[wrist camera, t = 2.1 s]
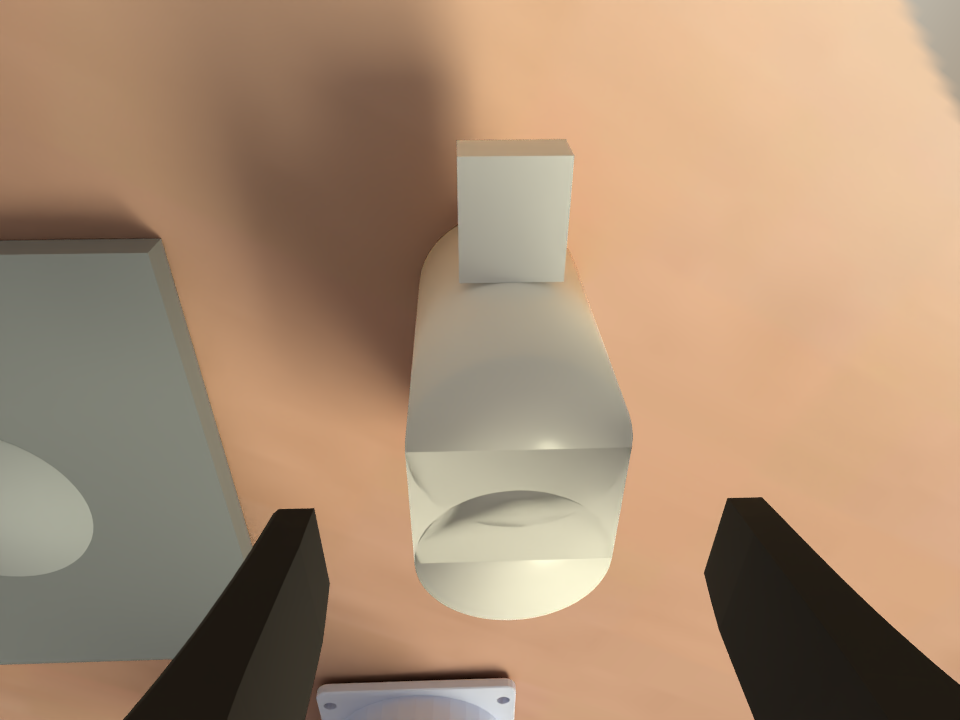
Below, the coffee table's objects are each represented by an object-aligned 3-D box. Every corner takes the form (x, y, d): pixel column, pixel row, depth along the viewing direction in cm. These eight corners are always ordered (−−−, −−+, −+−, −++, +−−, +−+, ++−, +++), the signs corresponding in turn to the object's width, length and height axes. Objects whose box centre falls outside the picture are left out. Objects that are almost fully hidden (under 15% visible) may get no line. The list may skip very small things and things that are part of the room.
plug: (562, 437, 19) (600, 617, 14) (427, 440, 19) (419, 622, 14) (594, 106, 14) (674, 208, 9) (408, 107, 14) (384, 212, 9)
